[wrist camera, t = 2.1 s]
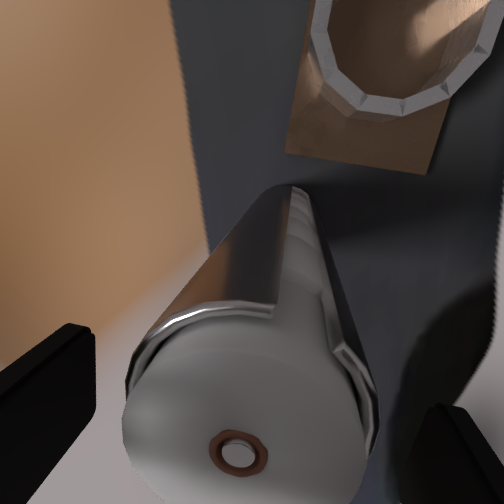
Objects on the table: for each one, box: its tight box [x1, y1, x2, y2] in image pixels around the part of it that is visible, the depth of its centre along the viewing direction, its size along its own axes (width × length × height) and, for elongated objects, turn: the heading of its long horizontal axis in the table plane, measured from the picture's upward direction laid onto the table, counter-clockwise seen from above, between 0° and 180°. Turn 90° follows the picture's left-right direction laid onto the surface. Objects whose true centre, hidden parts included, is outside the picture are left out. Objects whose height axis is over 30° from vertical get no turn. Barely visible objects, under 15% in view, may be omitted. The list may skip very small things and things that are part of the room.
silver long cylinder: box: [122, 185, 380, 504], centre depth 19 cm, size 6×6×25 cm
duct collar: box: [284, 0, 504, 175], centre depth 22 cm, size 18×12×6 cm, turn 171°
